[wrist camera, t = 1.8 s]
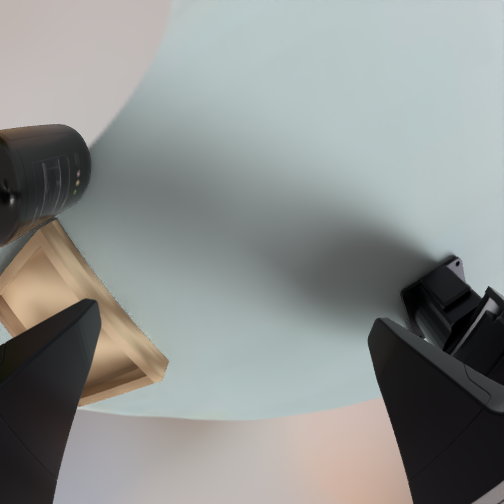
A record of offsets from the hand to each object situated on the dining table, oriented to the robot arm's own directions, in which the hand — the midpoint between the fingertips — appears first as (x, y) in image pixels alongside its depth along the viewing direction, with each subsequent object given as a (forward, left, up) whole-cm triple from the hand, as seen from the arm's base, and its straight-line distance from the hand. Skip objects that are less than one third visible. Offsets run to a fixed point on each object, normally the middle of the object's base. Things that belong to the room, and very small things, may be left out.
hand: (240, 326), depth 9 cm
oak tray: (0, +20, -12) cm, 24 cm away
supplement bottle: (+11, +10, -13) cm, 20 cm away
